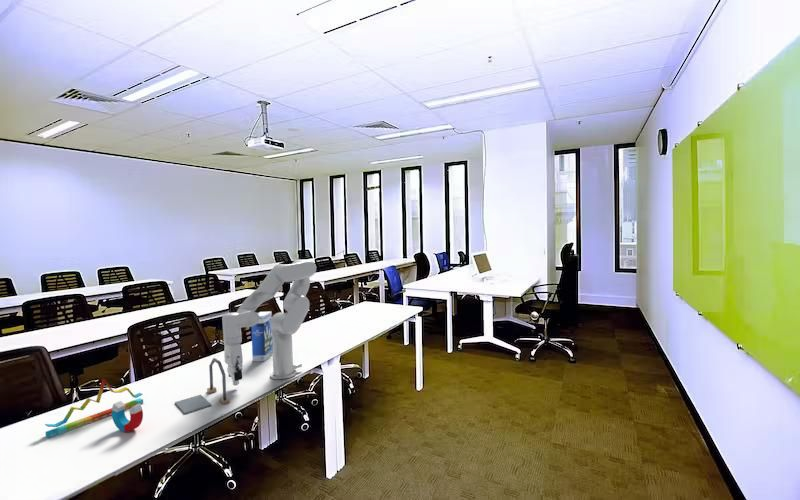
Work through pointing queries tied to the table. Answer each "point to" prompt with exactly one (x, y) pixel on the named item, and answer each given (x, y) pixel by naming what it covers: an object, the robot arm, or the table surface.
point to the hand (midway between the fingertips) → (235, 377)
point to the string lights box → (262, 338)
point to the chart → (93, 417)
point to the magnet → (121, 419)
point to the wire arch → (213, 389)
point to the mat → (192, 404)
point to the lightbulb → (232, 374)
